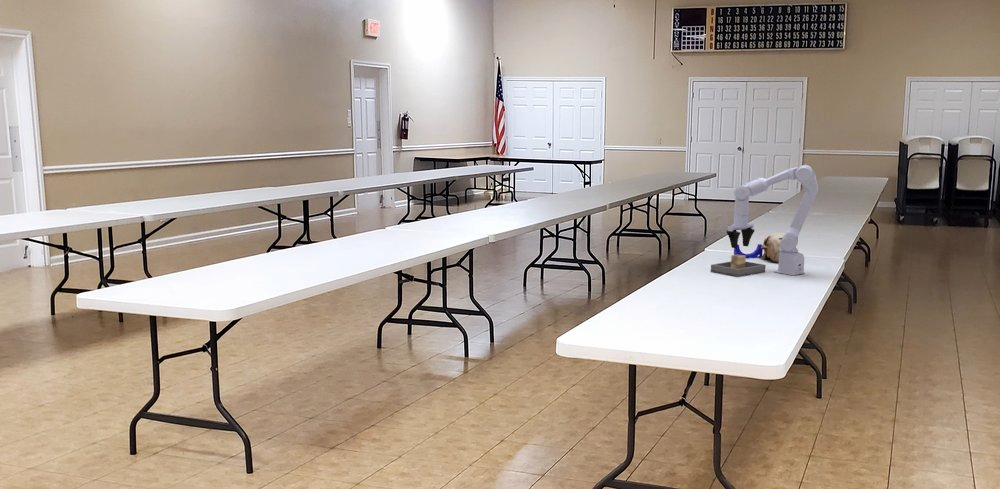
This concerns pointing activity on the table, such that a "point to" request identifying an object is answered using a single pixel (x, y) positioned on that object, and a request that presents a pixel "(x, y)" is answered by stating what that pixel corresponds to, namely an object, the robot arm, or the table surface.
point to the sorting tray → (748, 270)
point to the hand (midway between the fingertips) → (739, 246)
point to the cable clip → (751, 255)
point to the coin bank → (772, 247)
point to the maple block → (738, 261)
